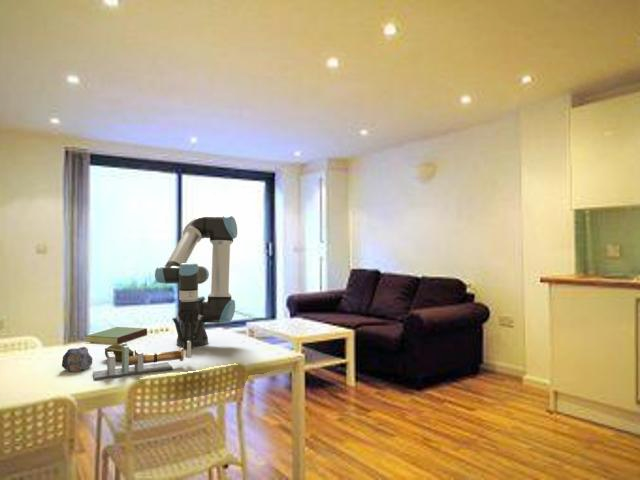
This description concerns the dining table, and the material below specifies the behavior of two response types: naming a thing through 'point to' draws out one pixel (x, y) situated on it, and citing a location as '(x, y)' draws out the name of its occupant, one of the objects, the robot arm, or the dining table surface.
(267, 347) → the dining table surface
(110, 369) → the collar rail
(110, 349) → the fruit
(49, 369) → the dining table surface
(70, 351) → the rock
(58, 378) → the dining table surface
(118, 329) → the hardcover book
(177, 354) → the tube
